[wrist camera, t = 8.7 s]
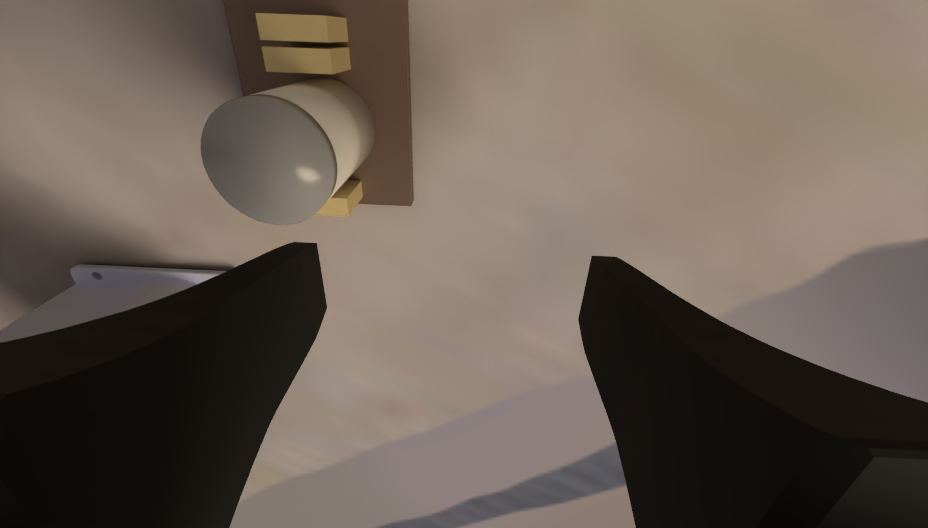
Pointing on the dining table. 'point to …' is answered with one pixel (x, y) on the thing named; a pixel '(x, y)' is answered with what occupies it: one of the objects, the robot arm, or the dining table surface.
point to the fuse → (287, 148)
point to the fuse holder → (338, 76)
